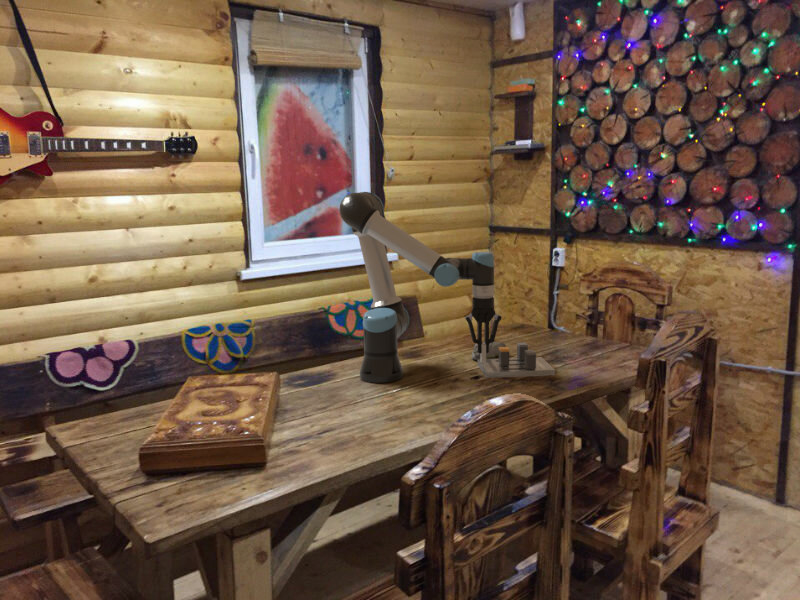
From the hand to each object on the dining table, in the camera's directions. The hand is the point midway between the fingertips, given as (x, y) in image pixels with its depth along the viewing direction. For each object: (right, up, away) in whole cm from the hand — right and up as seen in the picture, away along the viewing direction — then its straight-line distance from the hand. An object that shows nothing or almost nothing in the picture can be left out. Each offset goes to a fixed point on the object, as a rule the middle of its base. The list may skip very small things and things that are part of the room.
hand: (483, 361), depth 232 cm
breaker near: (+16, -2, -4) cm, 17 cm away
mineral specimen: (+3, -1, +18) cm, 18 cm away
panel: (+12, -3, +1) cm, 12 cm away
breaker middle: (+8, -1, +1) cm, 8 cm away
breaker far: (+15, 0, +7) cm, 17 cm away
